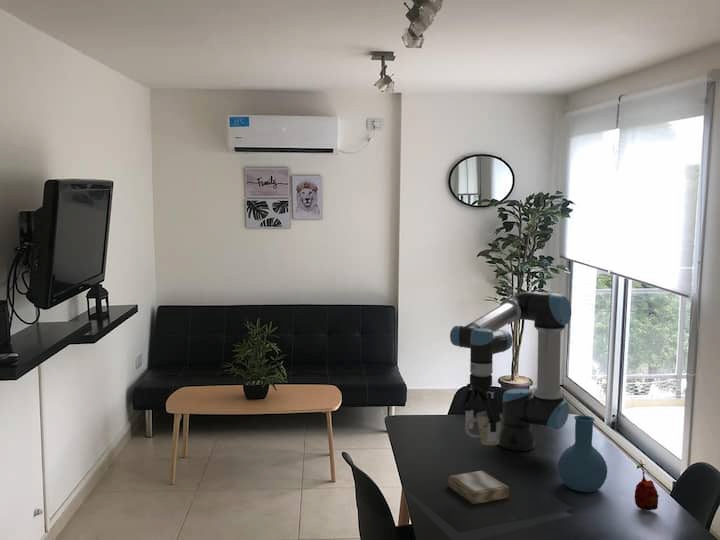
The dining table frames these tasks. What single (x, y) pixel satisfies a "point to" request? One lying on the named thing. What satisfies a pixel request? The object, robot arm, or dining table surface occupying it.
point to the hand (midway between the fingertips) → (480, 434)
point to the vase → (582, 460)
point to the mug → (484, 428)
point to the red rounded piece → (646, 494)
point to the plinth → (478, 487)
